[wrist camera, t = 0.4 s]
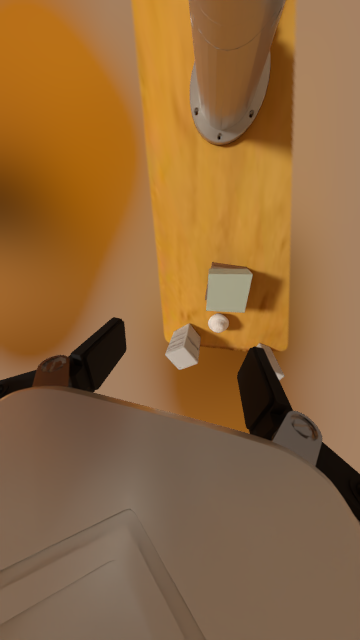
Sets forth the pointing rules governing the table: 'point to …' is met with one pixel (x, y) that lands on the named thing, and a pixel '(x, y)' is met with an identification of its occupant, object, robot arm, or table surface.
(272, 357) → the skincare box
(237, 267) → the bottom block
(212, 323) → the muffin
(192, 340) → the supplement box
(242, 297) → the top block
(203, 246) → the table surface
